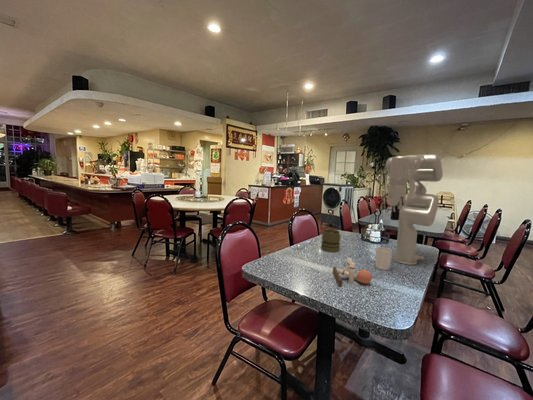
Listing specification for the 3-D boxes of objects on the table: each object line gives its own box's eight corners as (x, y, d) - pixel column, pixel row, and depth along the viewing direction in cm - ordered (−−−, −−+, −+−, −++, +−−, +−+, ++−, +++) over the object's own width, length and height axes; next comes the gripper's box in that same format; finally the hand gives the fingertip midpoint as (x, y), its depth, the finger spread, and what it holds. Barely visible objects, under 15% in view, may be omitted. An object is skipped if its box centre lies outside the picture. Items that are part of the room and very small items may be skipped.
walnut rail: (335, 271, 120) (335, 267, 120) (341, 286, 104) (342, 281, 104) (332, 271, 120) (333, 266, 120) (339, 286, 104) (339, 280, 104)
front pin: (357, 274, 112) (338, 267, 113) (358, 276, 110) (339, 269, 111) (355, 279, 112) (336, 272, 113) (356, 281, 110) (337, 273, 111)
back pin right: (350, 276, 115) (351, 258, 114) (351, 278, 113) (352, 259, 112) (345, 276, 115) (346, 257, 114) (346, 278, 113) (347, 259, 112)
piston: (340, 230, 159) (340, 234, 148) (339, 248, 160) (339, 253, 149) (323, 228, 162) (321, 232, 151) (322, 246, 163) (320, 251, 152)
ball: (352, 274, 111) (361, 277, 113) (358, 285, 106) (368, 287, 108) (360, 265, 108) (369, 268, 110) (367, 276, 103) (377, 279, 105)
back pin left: (352, 281, 110) (354, 262, 109) (354, 283, 108) (355, 263, 107) (347, 280, 110) (349, 261, 109) (348, 282, 108) (350, 263, 107)
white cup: (381, 271, 123) (383, 252, 122) (370, 265, 131) (372, 247, 130) (394, 269, 125) (395, 251, 124) (383, 264, 133) (384, 246, 132)
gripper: (384, 181, 124) (381, 216, 126) (396, 182, 109) (392, 222, 111) (399, 182, 123) (396, 217, 125) (414, 183, 109) (410, 223, 111)
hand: (394, 219), depth 118 cm, fingers closed
